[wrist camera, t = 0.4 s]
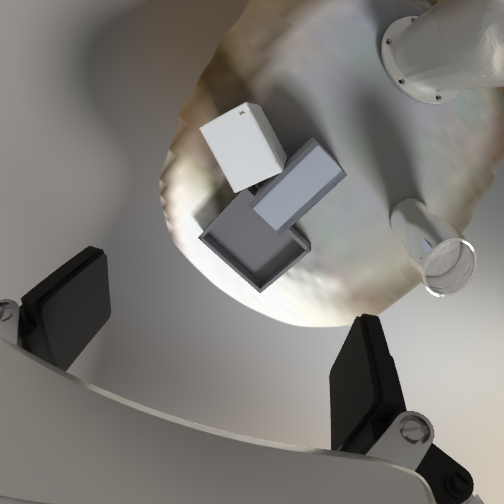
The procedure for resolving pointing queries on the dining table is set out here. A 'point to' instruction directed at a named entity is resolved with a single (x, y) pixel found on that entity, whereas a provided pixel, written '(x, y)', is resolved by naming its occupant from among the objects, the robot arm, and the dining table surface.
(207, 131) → the small box
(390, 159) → the dining table surface
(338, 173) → the grey rectangular block
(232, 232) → the tray
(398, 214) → the beer glass
